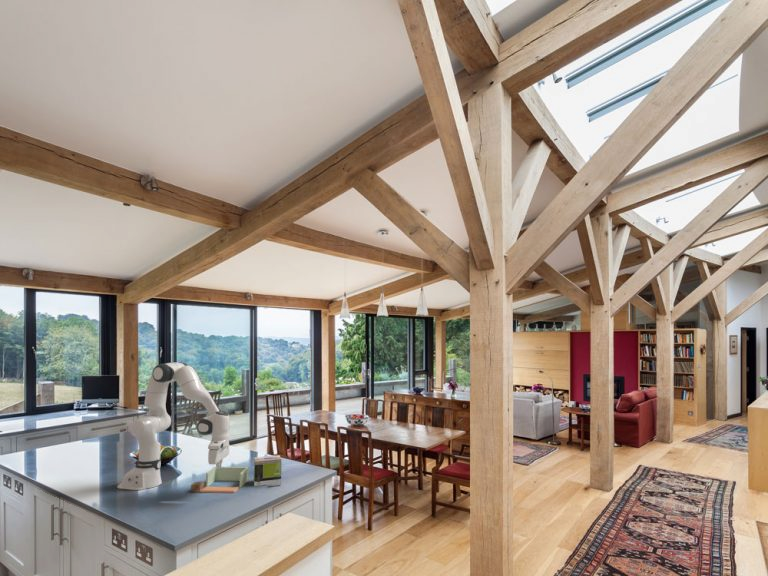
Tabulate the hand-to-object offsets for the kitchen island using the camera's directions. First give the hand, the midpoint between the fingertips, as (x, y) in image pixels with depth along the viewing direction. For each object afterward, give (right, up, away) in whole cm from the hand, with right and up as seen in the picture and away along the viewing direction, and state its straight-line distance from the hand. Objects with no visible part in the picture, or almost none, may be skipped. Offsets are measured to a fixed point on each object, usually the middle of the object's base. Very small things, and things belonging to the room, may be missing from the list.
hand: (218, 468), depth 239 cm
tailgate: (+1, -13, +5) cm, 14 cm away
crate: (+1, -15, +11) cm, 19 cm away
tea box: (+23, -15, +14) cm, 31 cm away
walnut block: (-12, -13, 0) cm, 18 cm away
